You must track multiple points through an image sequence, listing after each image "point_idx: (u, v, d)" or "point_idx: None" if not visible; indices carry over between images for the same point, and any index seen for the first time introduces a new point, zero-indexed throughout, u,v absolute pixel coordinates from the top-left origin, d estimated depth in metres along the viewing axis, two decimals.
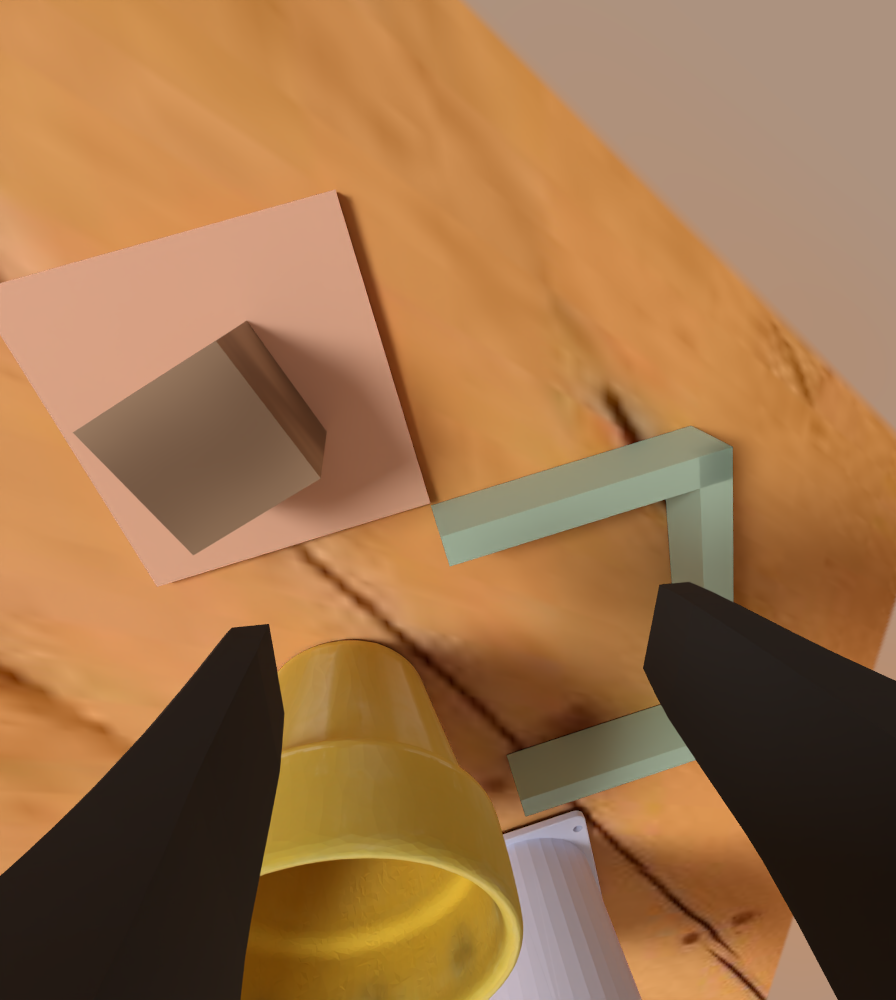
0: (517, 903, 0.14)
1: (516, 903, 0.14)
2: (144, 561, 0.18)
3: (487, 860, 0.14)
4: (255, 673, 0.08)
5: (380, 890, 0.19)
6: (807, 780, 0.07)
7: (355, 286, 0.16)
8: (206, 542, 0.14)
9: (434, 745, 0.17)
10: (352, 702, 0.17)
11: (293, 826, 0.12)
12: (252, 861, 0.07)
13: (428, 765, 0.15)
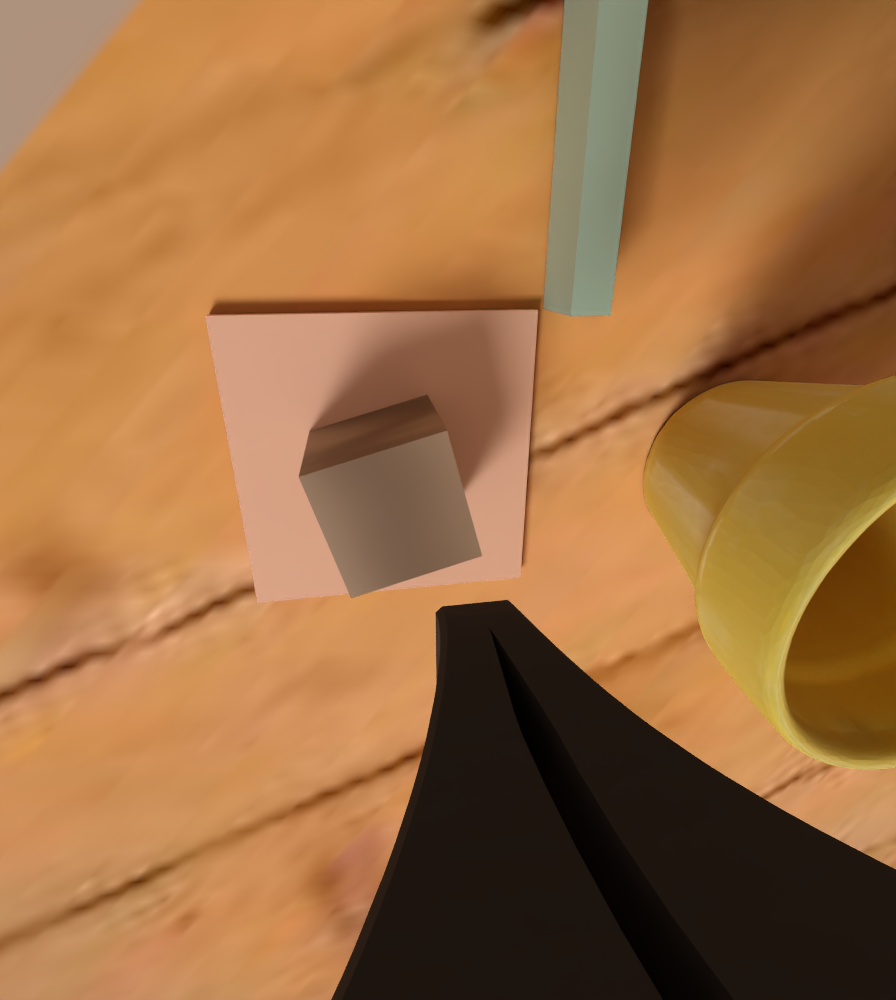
0: None
1: None
2: (495, 578, 0.21)
3: None
4: None
5: None
6: None
7: (295, 323, 0.16)
8: (474, 542, 0.15)
9: (804, 409, 0.14)
10: (704, 473, 0.16)
11: (764, 595, 0.12)
12: None
13: (808, 434, 0.12)
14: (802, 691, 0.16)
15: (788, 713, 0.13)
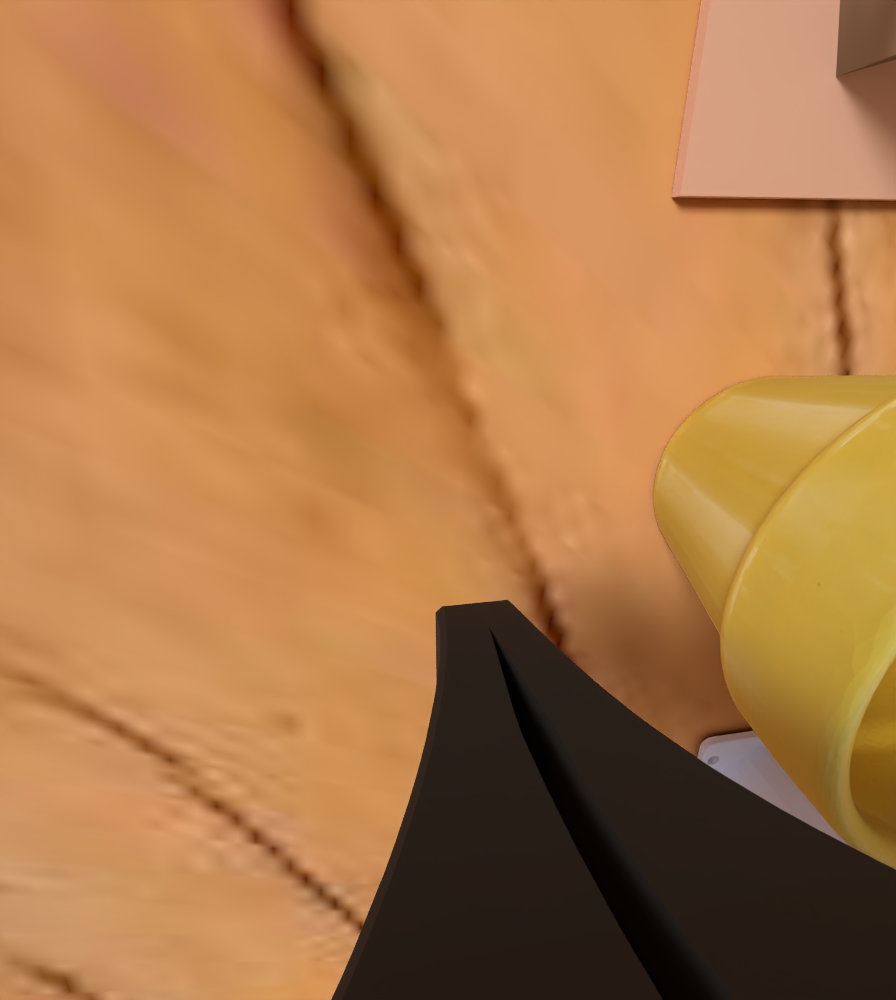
0: None
1: None
2: (684, 149, 0.13)
3: None
4: None
5: None
6: None
7: None
8: None
9: None
10: None
11: None
12: None
13: None
14: None
15: None
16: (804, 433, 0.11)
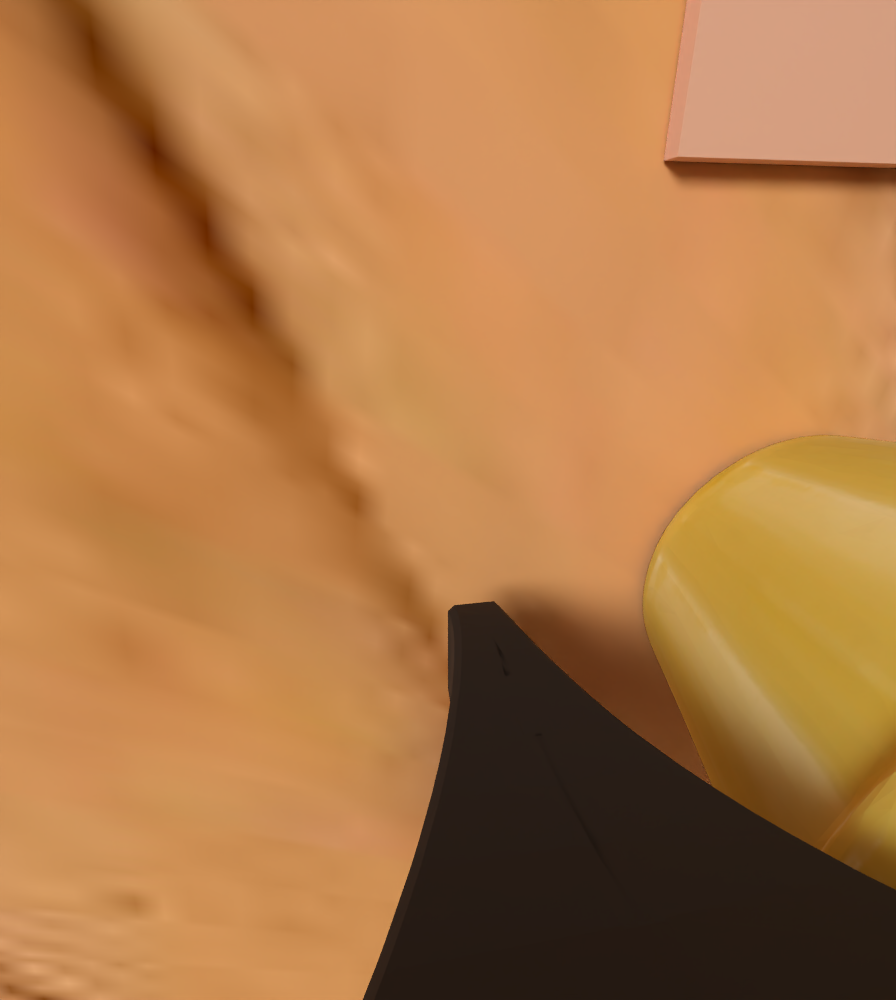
0: None
1: None
2: (685, 77, 0.08)
3: None
4: None
5: None
6: None
7: None
8: None
9: None
10: None
11: None
12: None
13: None
14: None
15: None
16: None
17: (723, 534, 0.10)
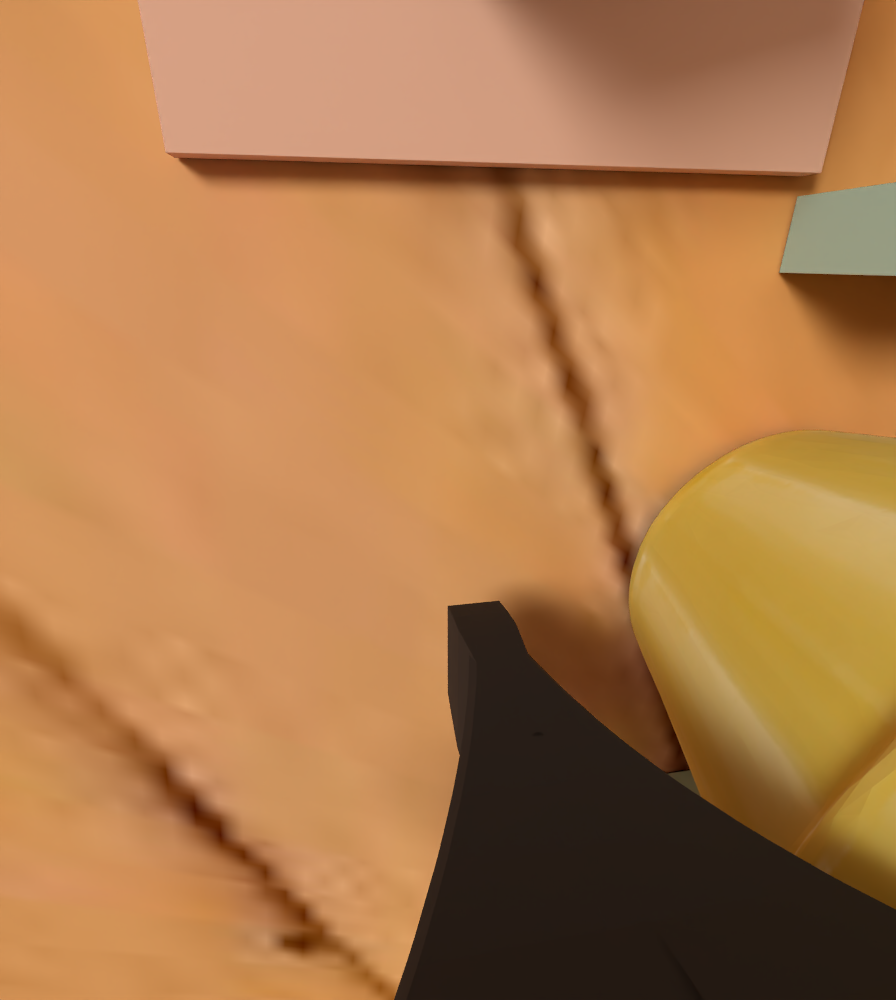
0: None
1: None
2: (151, 61, 0.07)
3: None
4: None
5: None
6: None
7: None
8: None
9: None
10: None
11: None
12: None
13: None
14: None
15: None
16: None
17: (704, 532, 0.09)
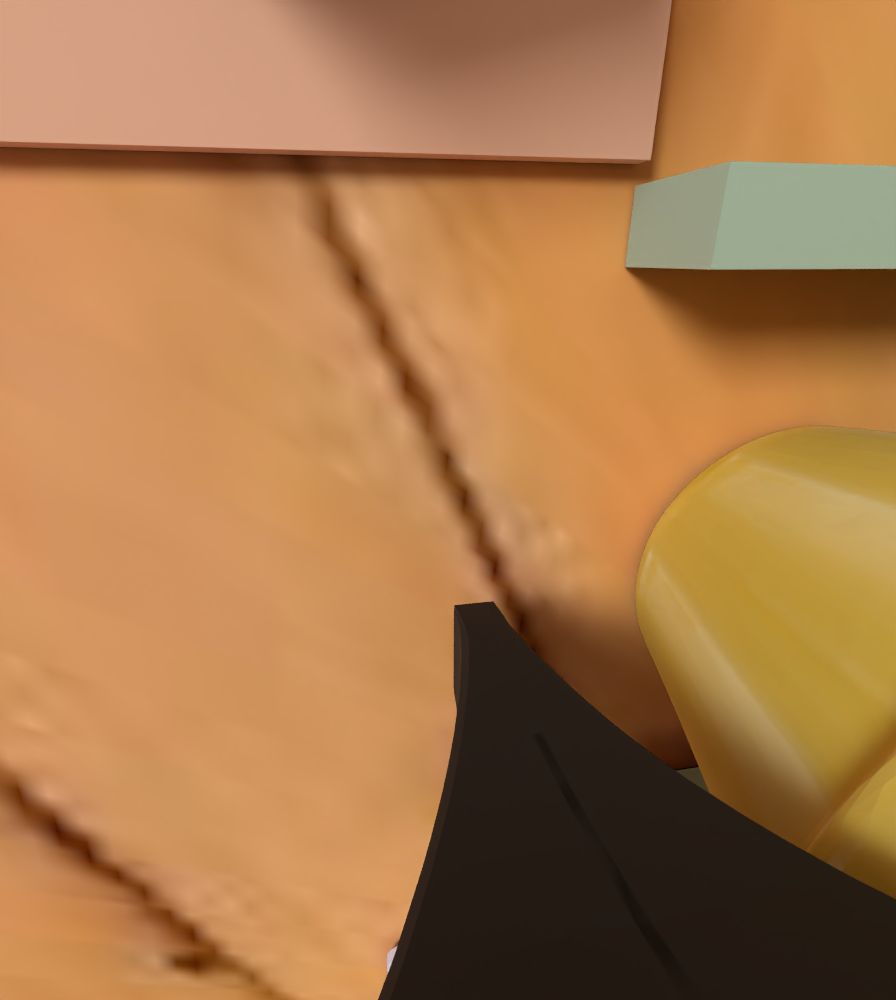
0: None
1: None
2: None
3: None
4: None
5: None
6: None
7: None
8: None
9: None
10: None
11: None
12: None
13: None
14: None
15: None
16: None
17: (711, 530, 0.09)
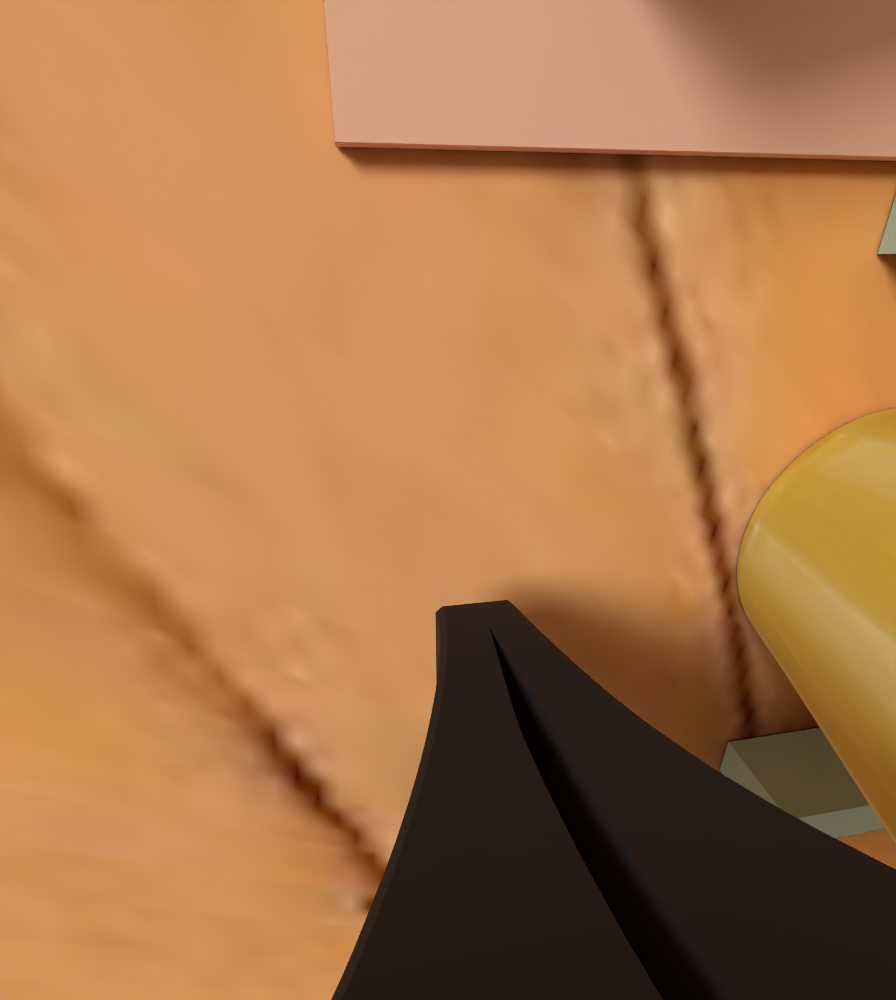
0: None
1: None
2: (329, 56, 0.07)
3: None
4: None
5: None
6: None
7: None
8: None
9: None
10: None
11: None
12: None
13: None
14: None
15: None
16: None
17: (828, 500, 0.10)
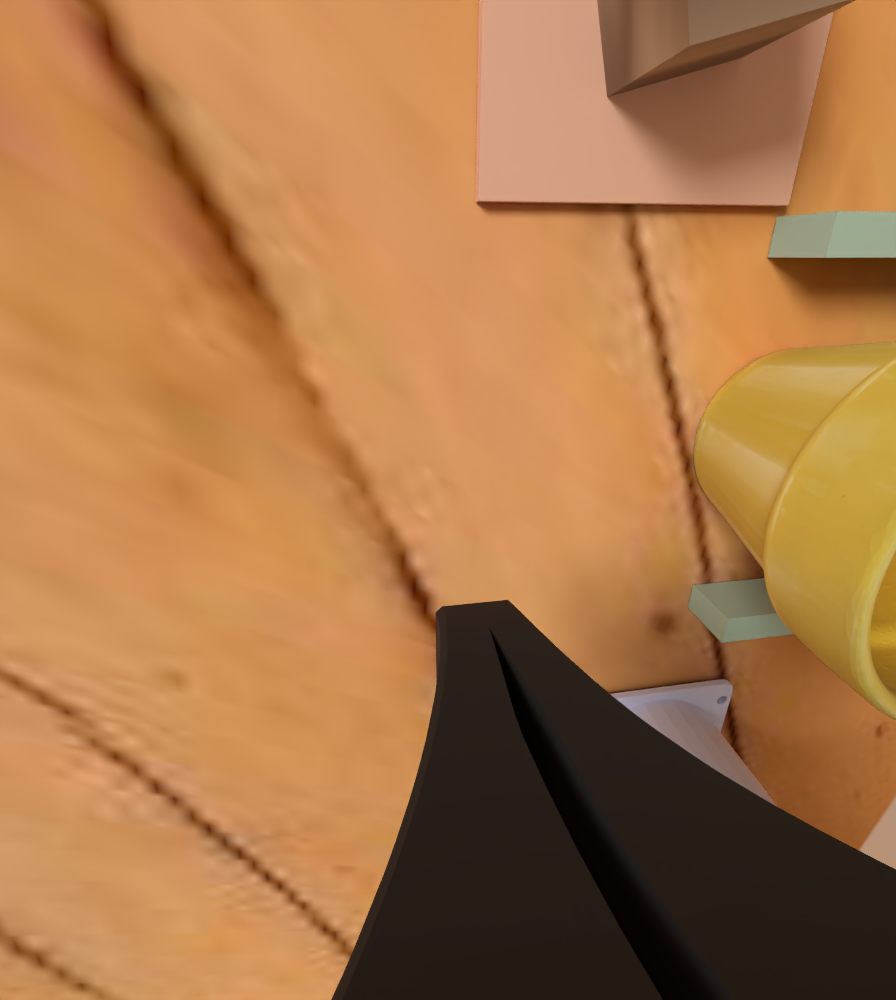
0: None
1: None
2: (478, 160, 0.15)
3: None
4: None
5: None
6: None
7: None
8: (713, 31, 0.11)
9: None
10: None
11: None
12: None
13: None
14: None
15: None
16: (826, 389, 0.14)
17: (740, 398, 0.18)
